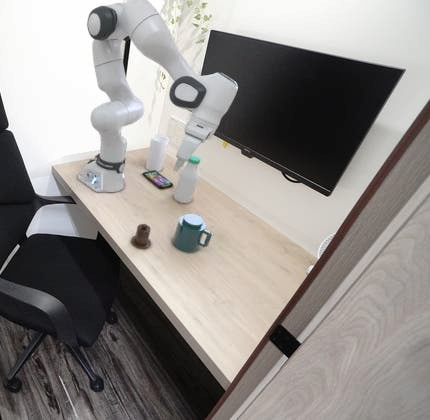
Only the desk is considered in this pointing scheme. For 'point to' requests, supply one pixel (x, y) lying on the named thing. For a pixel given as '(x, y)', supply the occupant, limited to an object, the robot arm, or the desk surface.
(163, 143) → the cup
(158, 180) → the smartphone
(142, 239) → the lid
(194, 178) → the milk bottle
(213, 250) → the desk surface
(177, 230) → the teal mug
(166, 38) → the robot arm
